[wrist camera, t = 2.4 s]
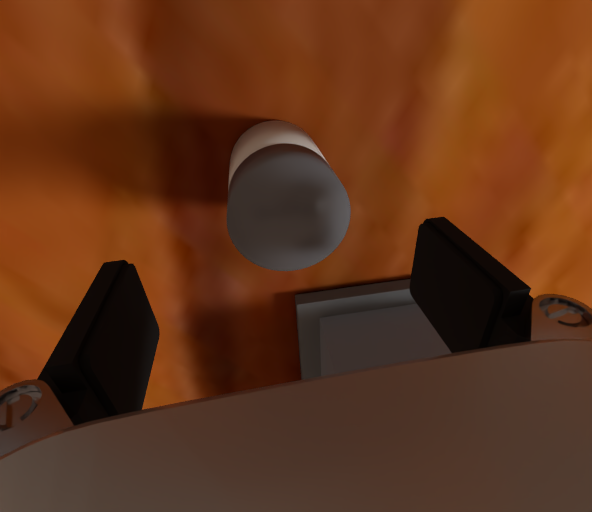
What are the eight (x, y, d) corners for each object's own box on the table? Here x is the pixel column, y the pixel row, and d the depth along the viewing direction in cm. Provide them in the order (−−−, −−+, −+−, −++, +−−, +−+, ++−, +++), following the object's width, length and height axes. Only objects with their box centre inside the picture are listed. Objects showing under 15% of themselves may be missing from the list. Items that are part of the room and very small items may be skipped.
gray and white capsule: (221, 125, 16) (215, 167, 11) (319, 115, 17) (352, 152, 12) (237, 213, 19) (237, 277, 14) (320, 203, 20) (348, 263, 15)
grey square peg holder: (294, 294, 23) (319, 410, 16) (473, 270, 24) (569, 368, 17) (303, 409, 31) (323, 520, 24) (438, 387, 32) (493, 486, 25)
